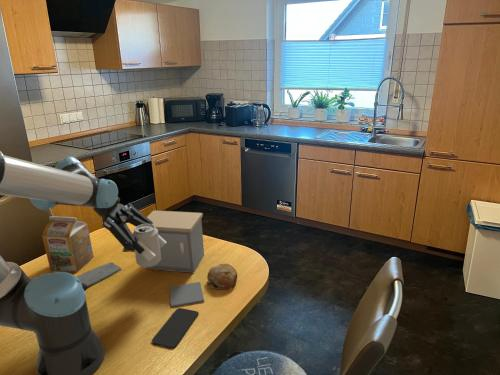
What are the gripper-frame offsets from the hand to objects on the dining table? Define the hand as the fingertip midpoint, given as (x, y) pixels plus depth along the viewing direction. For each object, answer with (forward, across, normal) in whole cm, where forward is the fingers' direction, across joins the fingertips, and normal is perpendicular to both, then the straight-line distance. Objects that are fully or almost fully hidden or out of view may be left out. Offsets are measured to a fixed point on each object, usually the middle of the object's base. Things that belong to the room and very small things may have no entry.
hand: (158, 251), depth 113 cm
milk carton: (-18, -12, -40) cm, 46 cm away
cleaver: (-10, -1, -33) cm, 34 cm away
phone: (+18, +14, -4) cm, 23 cm away
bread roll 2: (-5, -29, -28) cm, 40 cm away
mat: (+16, -1, -6) cm, 17 cm away
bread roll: (+23, -10, +1) cm, 25 cm away
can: (+1, 0, -6) cm, 6 cm away
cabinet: (+8, -19, -13) cm, 25 cm away
